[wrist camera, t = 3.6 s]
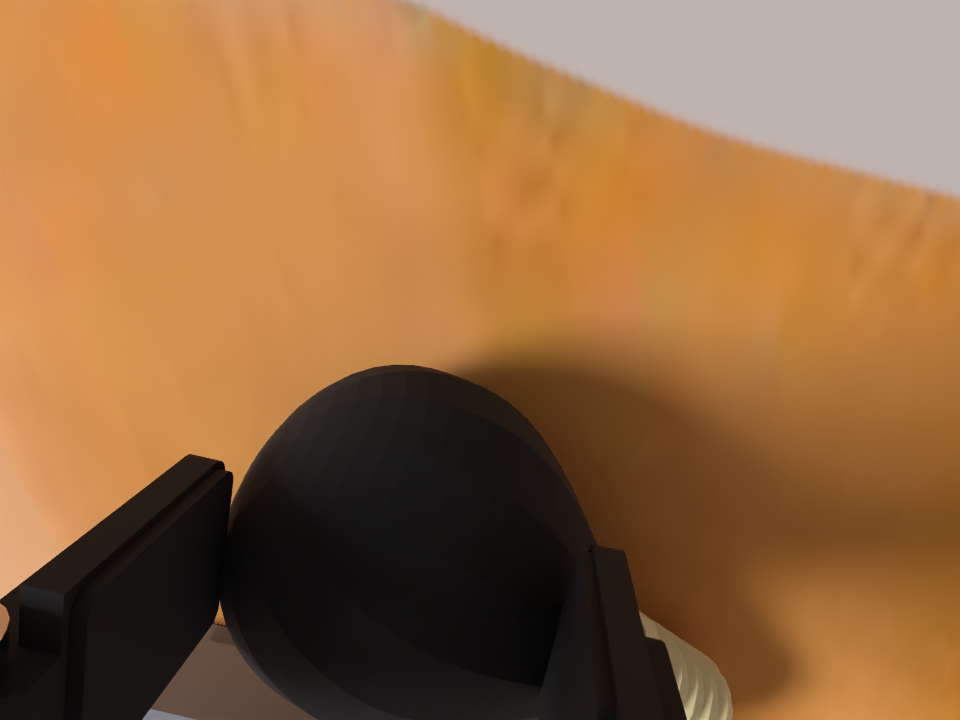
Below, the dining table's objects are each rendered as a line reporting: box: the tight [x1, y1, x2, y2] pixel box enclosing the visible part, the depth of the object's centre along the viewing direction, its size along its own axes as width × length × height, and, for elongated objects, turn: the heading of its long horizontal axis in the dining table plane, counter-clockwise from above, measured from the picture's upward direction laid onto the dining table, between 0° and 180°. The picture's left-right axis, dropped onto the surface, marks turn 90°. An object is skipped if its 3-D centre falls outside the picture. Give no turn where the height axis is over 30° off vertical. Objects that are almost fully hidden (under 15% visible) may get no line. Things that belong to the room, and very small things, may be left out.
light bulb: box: [219, 365, 733, 720], centre depth 14 cm, size 7×7×12 cm
